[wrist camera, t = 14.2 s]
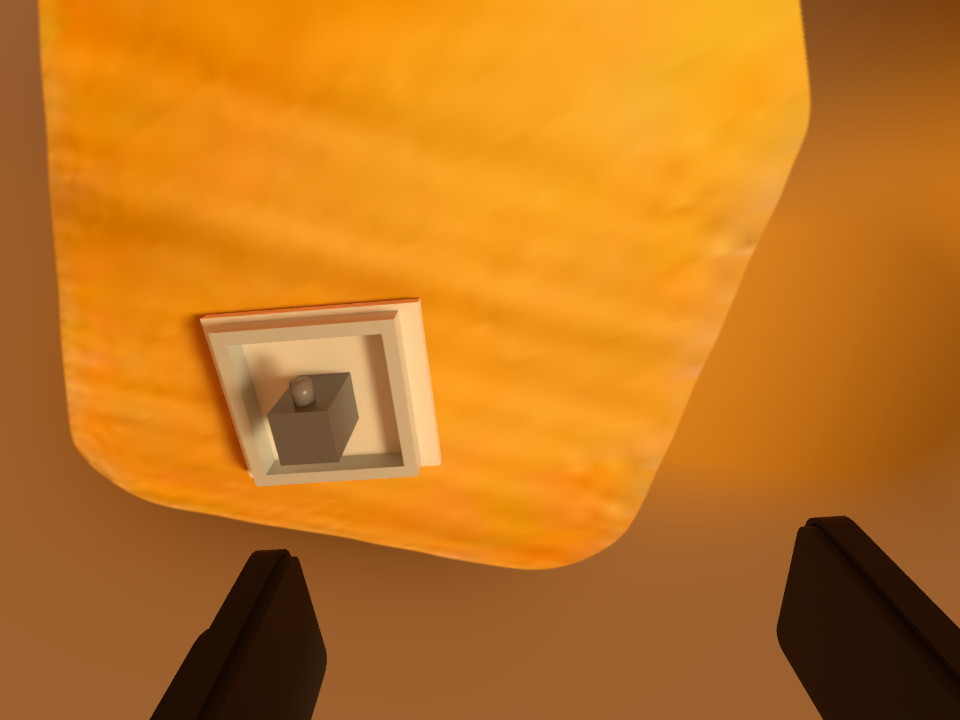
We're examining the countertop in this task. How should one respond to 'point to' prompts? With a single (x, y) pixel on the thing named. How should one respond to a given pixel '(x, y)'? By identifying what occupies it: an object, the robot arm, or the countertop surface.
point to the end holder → (323, 350)
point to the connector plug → (314, 419)
